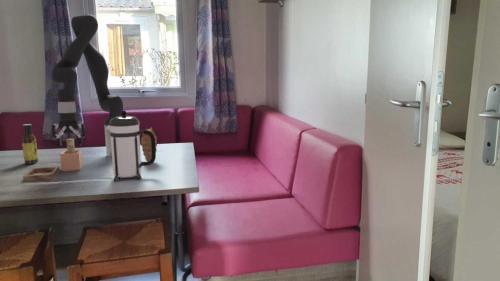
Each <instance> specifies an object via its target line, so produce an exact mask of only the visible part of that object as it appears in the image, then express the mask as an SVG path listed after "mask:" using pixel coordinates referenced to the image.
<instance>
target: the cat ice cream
mask: <svg viewBox="0 0 500 281" xmlns="http://www.w3.org/2000/svg"><path fill="white" fill-rule="evenodd" d="M144 130H148V131H150V132H152V134H153V135H154V138H155V147H156V152H157V148H158V147H157V146H158V142H157V141H158V140H157V139H158V138H157V135H156V133H155V132H154V130H153V127H152V126H151V127H150V128H145V129H144ZM140 147H141V148H142V149H141V150H142V152H143V154H142V155H143V156H144V160H145V162H147V161H150V160H151V158H152V148H151V138H150V136H149V135H147V134H142V137H141V138H140Z"/></svg>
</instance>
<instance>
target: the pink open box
mask: <svg viewBox="0 0 500 281" xmlns="http://www.w3.org/2000/svg"><path fill="white" fill-rule="evenodd" d="M59 157H60V167H61V169H60V170H61V172H69V171H81V169H82V168H83V167H84V159H83V158H84V156H83V149H75V153H68V152H67V150H63V151H61V153H59Z"/></svg>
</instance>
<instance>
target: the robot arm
mask: <svg viewBox="0 0 500 281" xmlns="http://www.w3.org/2000/svg"><path fill="white" fill-rule="evenodd" d="M70 22H71V28H72V31H73V33H74V35H75V39H74V40H72V41H71V42H70V44H69V45H68V46H67V47H66V48H65V52H64V53H63V56H62V58H61V59H60V60H59V61H58V62H57V63H56V64H55V65H54V67H53V69H52V70H51V73H50V74H51V79H52V81H53V82H54V83H56V84H65V86H64V87H63V88H59V89H57V91H56V92H57V94H56V96H57V103H58V104H57V112H58V113H57V114H58V124H56V123H54V124H52V125H51V137H52V138H54V139H56V145H57V146H58V147H63V146H62V145H63V144H62V137H61V136H62V135H63V134H73V133H74V135H76V136H77V137H78V138H77V141H78V146H79V147H80V146H82V145H83V137H86V135H87V131H86V125H85V123H84V122H83V123H78V115H77V106H76V99H75V98H76V97H75V92H76V91H75V90H76V85H77V82H78V74H77V71H76V70H75V68H77V67H78V65H79V63H80V61H81V58H82V56H84V59H85V62H86V66H87V68H88V71H89V73H90V76H91V79H92V82H93V86H94V88H95V91H96V96H97V101H98V103H99V106H100V108H101V110H102V111H104V112H106V113H108V117H107V118H106V119H104V122H103V123H104V138H105V150H106V151H105V152H106V156H107V157H108V158H112V149H111V136H110V130H106V128H107V126H108V125H109V123H110V120H111V119H112V118H114V117H117V116H123V115H122V114H121V112H122V111H124V103H123V100H122V97H121V96H119V95H112V94H111V93H110V89H109V86H108V81H109V80H108V79H109V74H110V73H109V68H108V65H107V64H108V63H107V62H106V61H107V60H106V59H105V57H104V56H103V54H102V53H101V52H100V51H99V49H97V48H96V47H95V46H94V45H93V43H92V42H91V41H92V39H93V37H94V36H95V35H96V33H97V31H98V28H99V23H98V19H96V17H95V16H94V15H92V14H82V15H81V14H80V15H76V16H75V15H74V16H73V17H72V18H71V20H70ZM58 128H59V129H60V131H59V132H58V133H57V129H58ZM78 128H80V129H81V132H80V131H79V130H78Z"/></svg>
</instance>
